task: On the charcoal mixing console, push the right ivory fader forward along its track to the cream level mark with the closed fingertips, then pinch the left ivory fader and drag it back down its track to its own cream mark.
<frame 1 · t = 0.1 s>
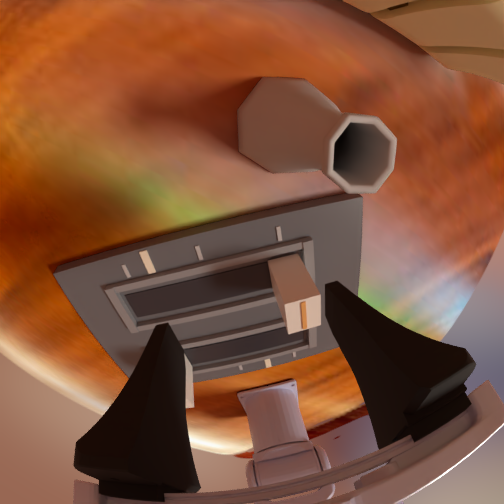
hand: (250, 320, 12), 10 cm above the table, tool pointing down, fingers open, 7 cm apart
fader b: (176, 380, 24), point 4 cm above the table, slide at 12.0 cm
fader a: (293, 292, 20), point 4 cm above the table, slide at 0.0 cm
console: (222, 312, 25), on the table
flask: (286, 124, 18), on the table
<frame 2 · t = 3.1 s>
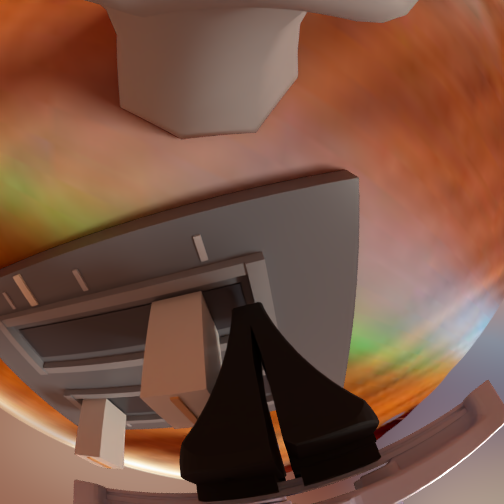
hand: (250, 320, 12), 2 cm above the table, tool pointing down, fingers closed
fader b: (101, 434, 15), point 4 cm above the table, slide at 12.0 cm
fader a: (186, 361, 11), point 4 cm above the table, slide at 1.8 cm, touching gripper
console: (147, 357, 16), on the table
flask: (206, 54, 8), on the table
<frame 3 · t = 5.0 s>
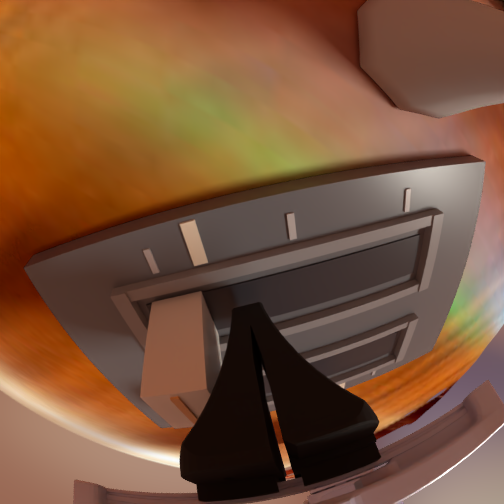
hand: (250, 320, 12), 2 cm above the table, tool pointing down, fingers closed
fader a: (186, 361, 11), point 4 cm above the table, slide at 11.6 cm, touching gripper
console: (297, 325, 16), on the table
flask: (410, 50, 9), on the table
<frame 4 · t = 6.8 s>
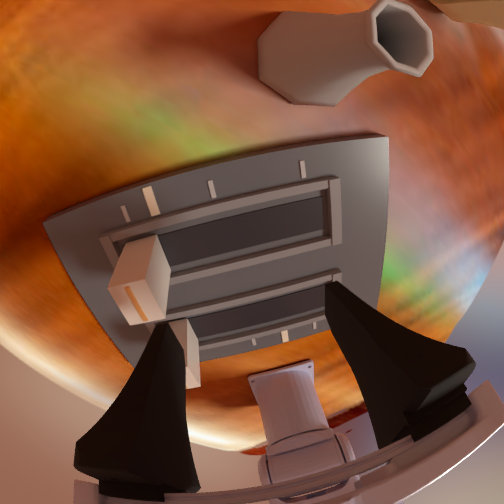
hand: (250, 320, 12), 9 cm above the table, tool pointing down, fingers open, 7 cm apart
fader b: (179, 355, 21), point 4 cm above the table, slide at 12.0 cm
fader a: (142, 278, 16), point 4 cm above the table, slide at 11.6 cm
console: (234, 271, 22), on the table
flask: (307, 58, 15), on the table
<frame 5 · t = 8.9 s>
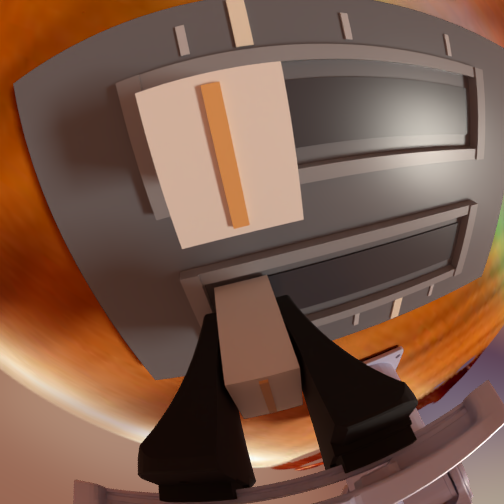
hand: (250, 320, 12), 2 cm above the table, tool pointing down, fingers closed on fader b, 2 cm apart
fader b: (256, 346, 11), point 4 cm above the table, slide at 12.0 cm, touching gripper
fader a: (218, 138, 6), point 4 cm above the table, slide at 11.6 cm
console: (350, 189, 12), on the table
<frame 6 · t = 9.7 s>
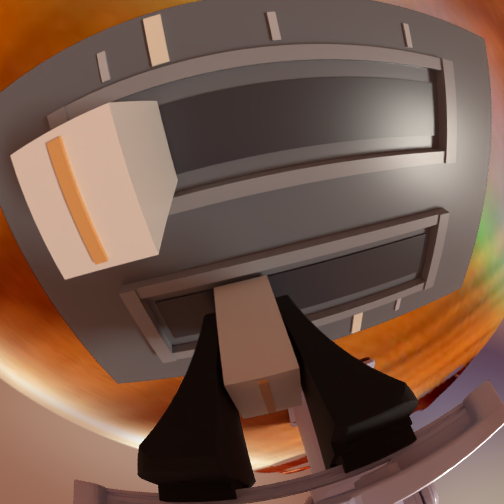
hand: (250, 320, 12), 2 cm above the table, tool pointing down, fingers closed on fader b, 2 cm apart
fader b: (255, 346, 11), point 4 cm above the table, slide at 9.1 cm, touching gripper
fader a: (113, 169, 6), point 4 cm above the table, slide at 11.6 cm
console: (293, 201, 12), on the table
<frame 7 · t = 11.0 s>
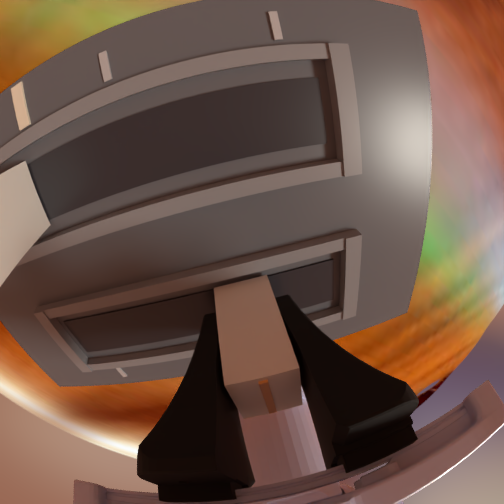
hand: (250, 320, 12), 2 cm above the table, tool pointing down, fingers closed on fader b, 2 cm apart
fader b: (256, 346, 11), point 4 cm above the table, slide at 3.2 cm, touching gripper
console: (164, 233, 12), on the table
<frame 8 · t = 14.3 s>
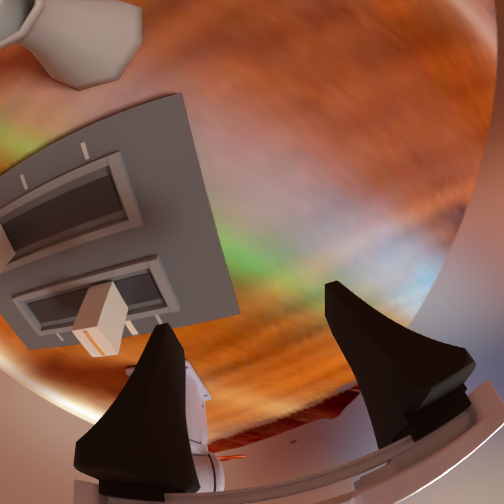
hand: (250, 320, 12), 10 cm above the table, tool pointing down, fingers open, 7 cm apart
fader b: (101, 319, 18), point 4 cm above the table, slide at 3.2 cm
console: (67, 257, 19), on the table
flask: (95, 42, 12), on the table
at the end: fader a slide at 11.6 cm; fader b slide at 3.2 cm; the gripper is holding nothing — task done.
